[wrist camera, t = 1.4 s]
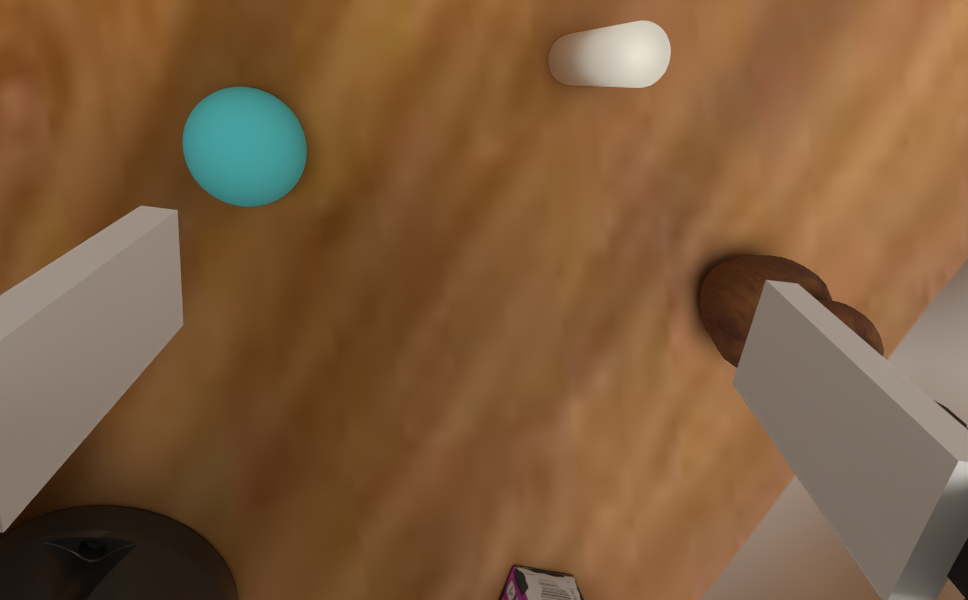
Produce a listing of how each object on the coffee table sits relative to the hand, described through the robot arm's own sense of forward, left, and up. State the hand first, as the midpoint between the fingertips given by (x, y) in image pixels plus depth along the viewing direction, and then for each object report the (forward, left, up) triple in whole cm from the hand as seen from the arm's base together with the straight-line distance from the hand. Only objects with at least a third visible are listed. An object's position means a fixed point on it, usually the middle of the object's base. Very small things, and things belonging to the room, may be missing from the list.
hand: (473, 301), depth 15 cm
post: (+11, -1, -23) cm, 25 cm away
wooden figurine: (+12, -19, -23) cm, 32 cm away
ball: (-5, +5, -20) cm, 21 cm away
